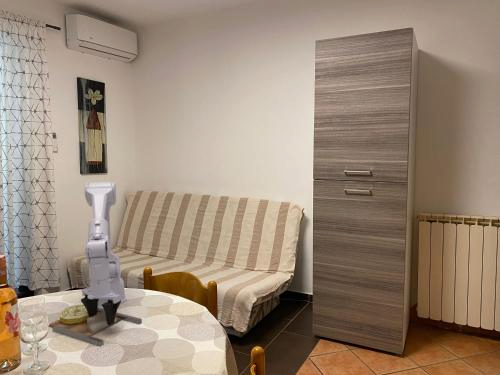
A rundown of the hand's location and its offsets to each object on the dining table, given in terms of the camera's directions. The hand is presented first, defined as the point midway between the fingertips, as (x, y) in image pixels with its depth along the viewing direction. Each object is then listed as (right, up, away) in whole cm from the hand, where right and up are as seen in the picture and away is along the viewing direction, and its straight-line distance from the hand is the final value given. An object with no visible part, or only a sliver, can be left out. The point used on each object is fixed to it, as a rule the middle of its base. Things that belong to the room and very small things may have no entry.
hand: (102, 321), depth 113 cm
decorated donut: (-11, -2, +7) cm, 13 cm away
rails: (-2, -2, +1) cm, 3 cm away
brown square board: (-7, -2, +4) cm, 8 cm away
